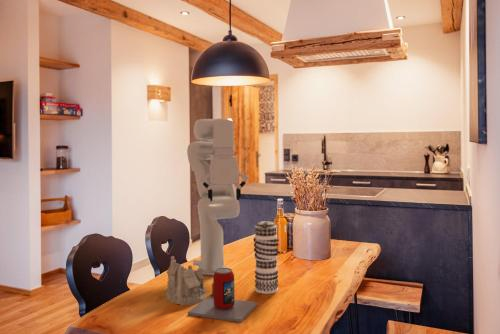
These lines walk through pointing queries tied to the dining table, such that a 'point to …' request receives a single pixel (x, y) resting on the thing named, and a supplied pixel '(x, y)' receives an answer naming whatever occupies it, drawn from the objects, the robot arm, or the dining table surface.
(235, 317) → the slate board
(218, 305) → the beverage can
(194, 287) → the ceramic cottage
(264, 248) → the decorative candle
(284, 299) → the dining table surface
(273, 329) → the dining table surface
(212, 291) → the walnut block
